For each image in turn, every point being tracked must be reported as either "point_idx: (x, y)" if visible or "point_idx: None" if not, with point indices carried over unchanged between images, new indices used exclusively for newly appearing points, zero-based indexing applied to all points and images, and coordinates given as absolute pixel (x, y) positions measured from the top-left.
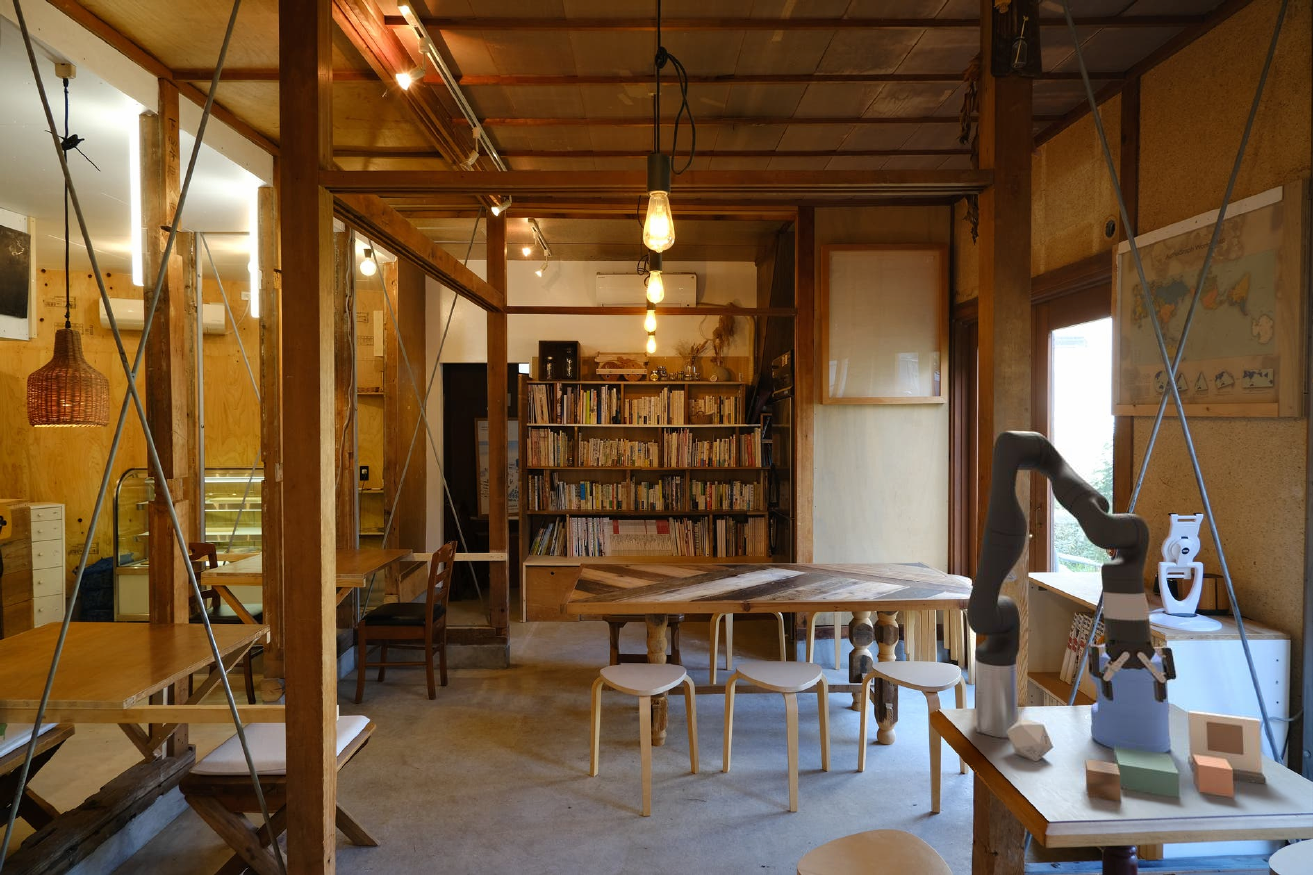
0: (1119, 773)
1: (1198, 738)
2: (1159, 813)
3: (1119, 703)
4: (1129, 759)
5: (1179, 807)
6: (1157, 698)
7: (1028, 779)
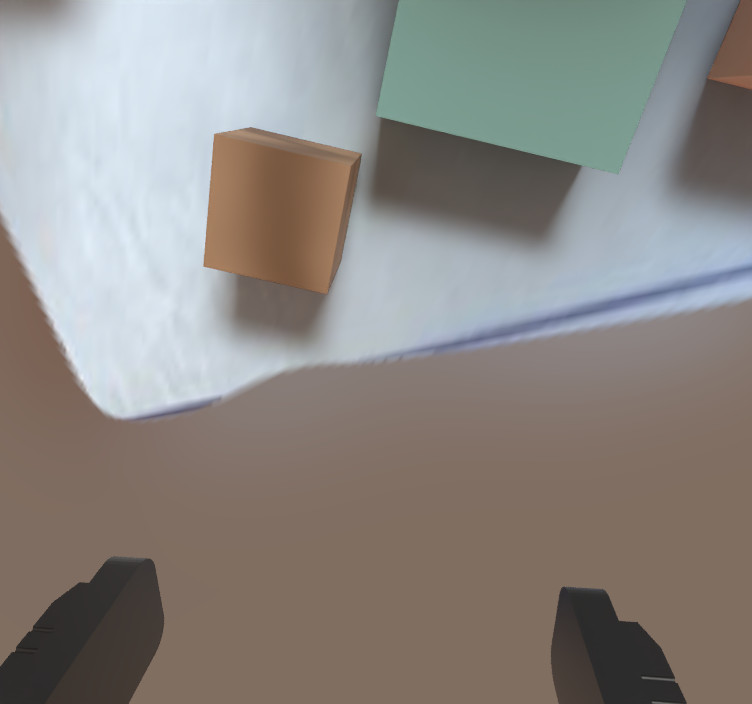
0: (328, 280)
1: None
2: (440, 317)
3: None
4: (453, 27)
5: (533, 257)
6: (560, 652)
7: (34, 118)
